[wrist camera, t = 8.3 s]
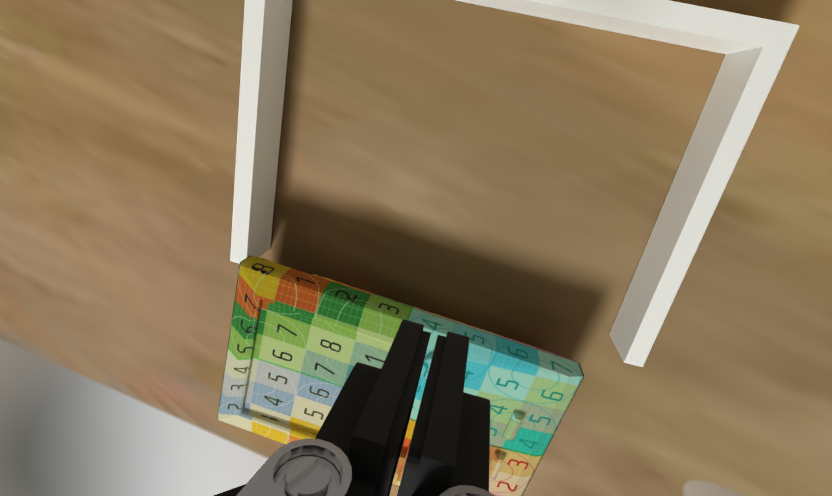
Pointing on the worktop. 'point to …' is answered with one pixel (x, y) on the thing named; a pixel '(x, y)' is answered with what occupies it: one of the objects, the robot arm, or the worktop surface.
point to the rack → (583, 5)
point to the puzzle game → (369, 344)
